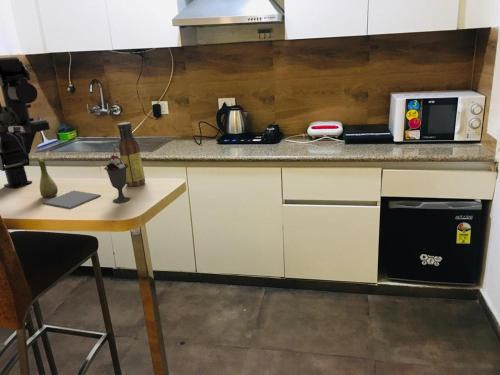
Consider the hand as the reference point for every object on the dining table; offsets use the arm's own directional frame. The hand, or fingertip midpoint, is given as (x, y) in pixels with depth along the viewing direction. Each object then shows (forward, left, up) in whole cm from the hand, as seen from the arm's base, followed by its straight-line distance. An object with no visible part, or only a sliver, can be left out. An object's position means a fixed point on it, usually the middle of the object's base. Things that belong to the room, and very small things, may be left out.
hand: (27, 153), depth 131 cm
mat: (+17, 0, -13) cm, 21 cm away
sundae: (+32, +5, -13) cm, 35 cm away
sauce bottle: (+25, +18, -13) cm, 33 cm away
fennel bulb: (+7, 0, -13) cm, 15 cm away
